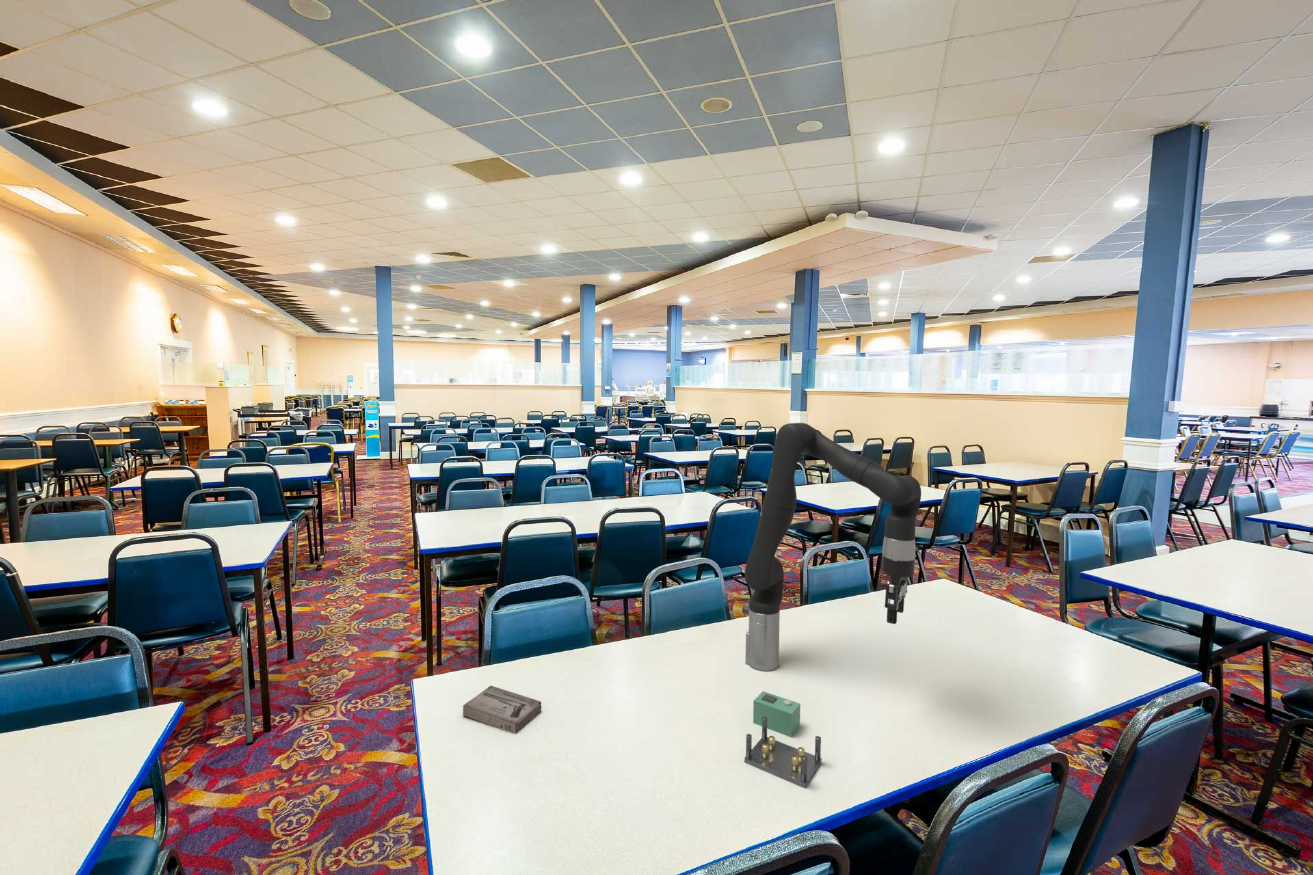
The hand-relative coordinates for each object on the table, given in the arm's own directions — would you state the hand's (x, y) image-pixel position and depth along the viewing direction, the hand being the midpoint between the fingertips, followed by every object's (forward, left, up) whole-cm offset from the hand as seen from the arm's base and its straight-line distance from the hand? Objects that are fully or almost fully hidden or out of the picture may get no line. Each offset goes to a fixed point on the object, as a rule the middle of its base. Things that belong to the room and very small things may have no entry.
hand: (895, 617), depth 140 cm
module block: (-22, -22, -26) cm, 40 cm away
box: (-81, -59, -26) cm, 104 cm away
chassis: (-15, -34, -26) cm, 45 cm away
